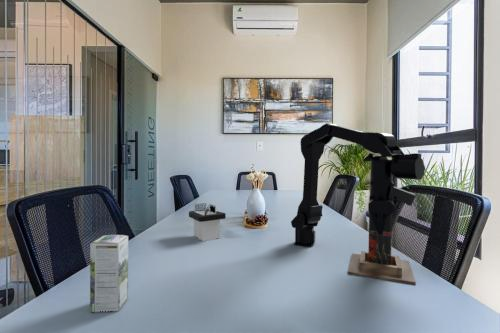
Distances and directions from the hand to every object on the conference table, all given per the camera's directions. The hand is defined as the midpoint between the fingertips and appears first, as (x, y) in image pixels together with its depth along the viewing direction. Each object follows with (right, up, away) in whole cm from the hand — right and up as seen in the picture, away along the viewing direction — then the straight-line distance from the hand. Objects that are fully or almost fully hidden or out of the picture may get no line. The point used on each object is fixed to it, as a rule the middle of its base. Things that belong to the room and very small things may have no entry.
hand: (380, 231), depth 81 cm
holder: (0, -10, 0) cm, 10 cm away
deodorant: (0, -9, 0) cm, 9 cm away
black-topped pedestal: (-54, -10, +32) cm, 64 cm away
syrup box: (-67, -11, -20) cm, 71 cm away
